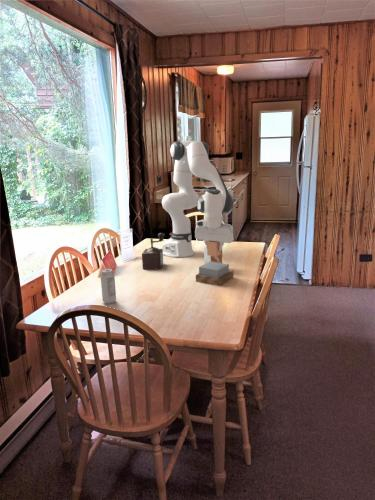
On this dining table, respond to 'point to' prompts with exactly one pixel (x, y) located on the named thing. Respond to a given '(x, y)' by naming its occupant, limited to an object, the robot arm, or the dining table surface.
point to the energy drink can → (108, 286)
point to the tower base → (214, 279)
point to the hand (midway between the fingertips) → (214, 249)
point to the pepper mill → (153, 255)
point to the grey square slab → (214, 269)
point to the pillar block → (213, 248)
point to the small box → (212, 257)
